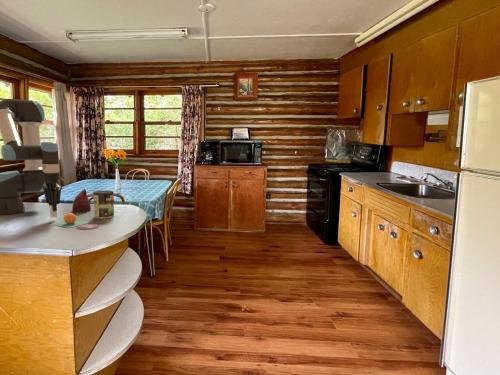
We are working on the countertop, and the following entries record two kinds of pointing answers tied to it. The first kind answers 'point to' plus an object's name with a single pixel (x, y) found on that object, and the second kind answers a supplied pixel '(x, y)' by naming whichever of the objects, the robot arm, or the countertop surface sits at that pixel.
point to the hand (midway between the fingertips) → (53, 217)
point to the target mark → (76, 223)
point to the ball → (70, 218)
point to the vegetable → (81, 203)
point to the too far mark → (87, 226)
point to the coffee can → (103, 204)
